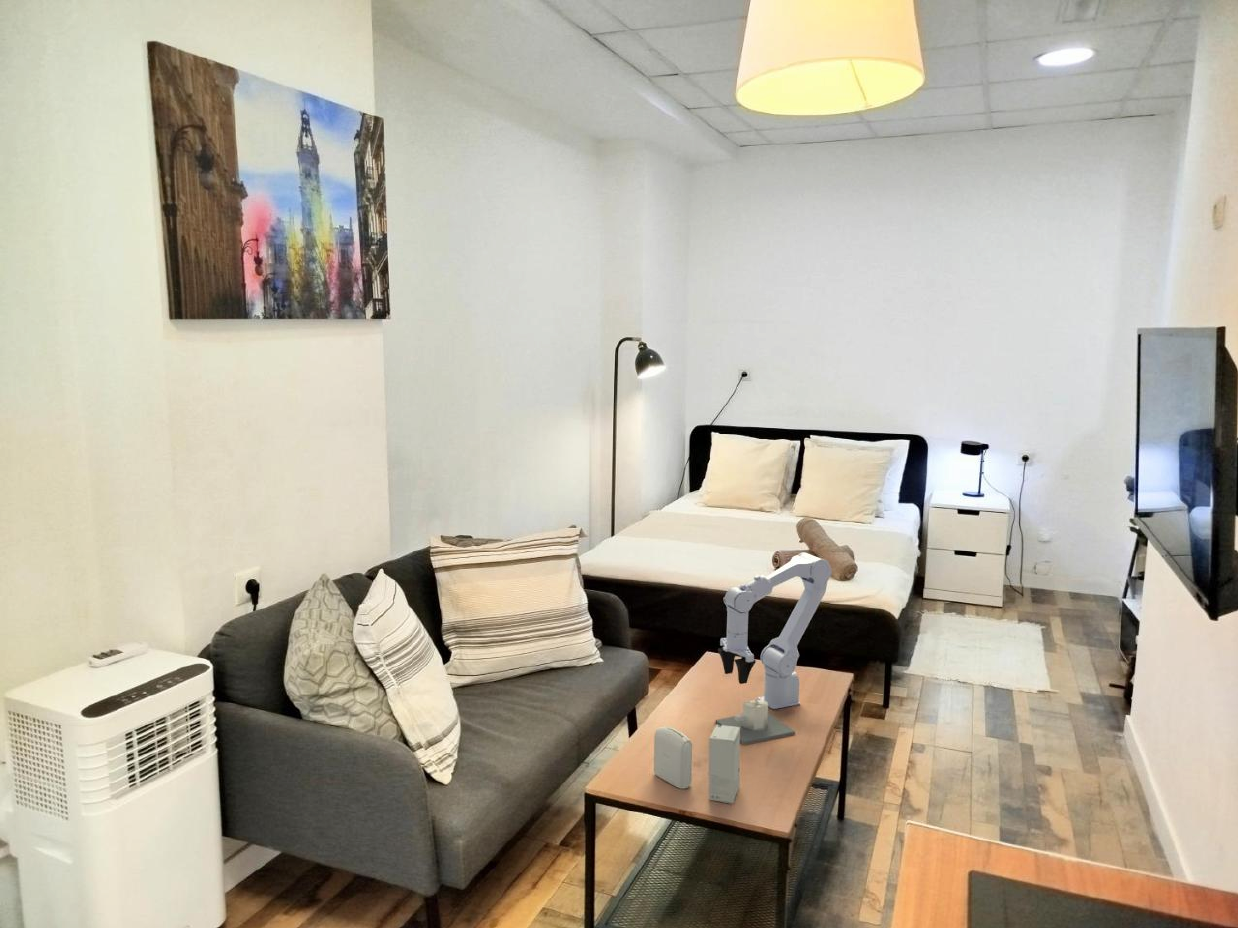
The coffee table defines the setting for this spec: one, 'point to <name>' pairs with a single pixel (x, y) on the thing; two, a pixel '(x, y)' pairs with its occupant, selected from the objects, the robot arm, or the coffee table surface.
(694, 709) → the coffee table surface
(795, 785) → the coffee table surface
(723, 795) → the skincare box
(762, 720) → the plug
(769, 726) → the mat
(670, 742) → the photo printer
